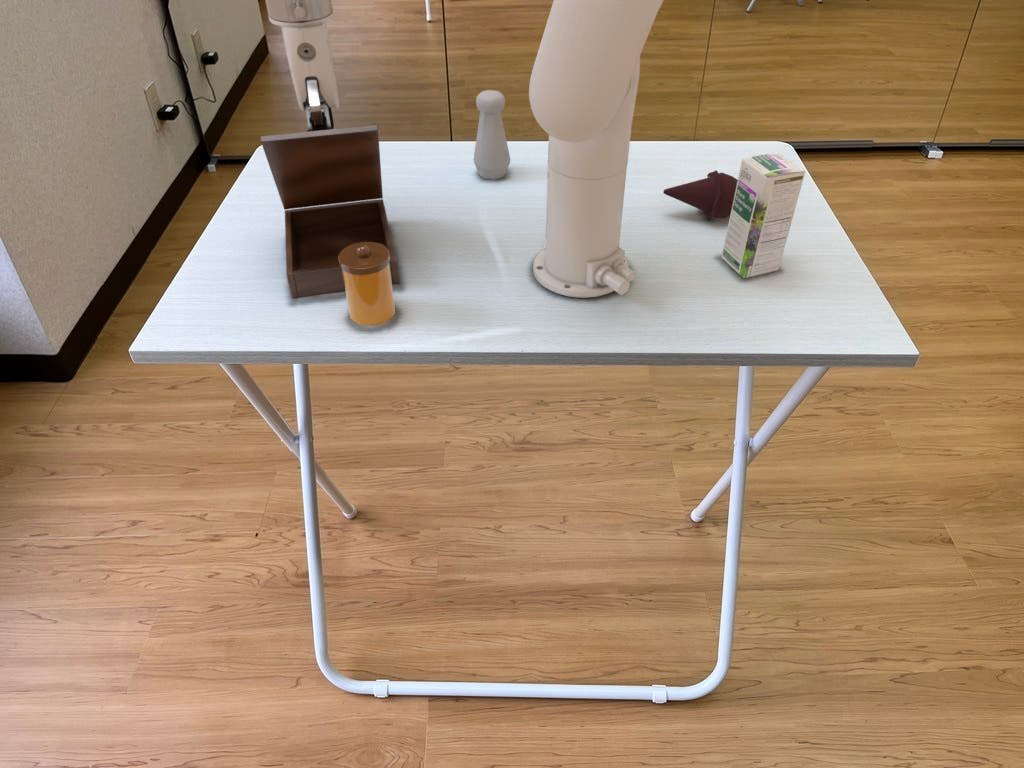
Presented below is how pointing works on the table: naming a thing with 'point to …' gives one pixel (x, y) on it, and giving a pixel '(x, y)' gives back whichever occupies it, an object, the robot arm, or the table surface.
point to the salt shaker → (491, 136)
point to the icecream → (708, 194)
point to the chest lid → (325, 166)
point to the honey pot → (367, 282)
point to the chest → (331, 243)
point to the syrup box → (761, 214)
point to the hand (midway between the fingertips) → (324, 143)
